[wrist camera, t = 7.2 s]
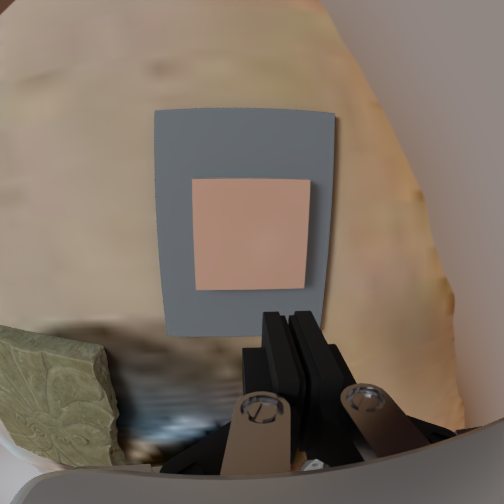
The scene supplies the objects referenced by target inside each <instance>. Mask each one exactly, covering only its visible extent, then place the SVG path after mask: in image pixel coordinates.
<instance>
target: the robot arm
mask: <svg viewBox="0 0 504 504" xmlns="http://www.w3.org/2000/svg"><path fill="white" fill-rule="evenodd" d="M242 378H243V396H242V397H241V398H240V399H239V400H238V401H237V402H236V404H235V406H234V411H233V416H232V421H230V422H229V423H227V424H226V425H224V426H223V427H221V428H220V429H218V430H217V431H215V432H214V433H212V434H211V435H209V436H208V437H206V438H204V439H203V440H201V441H200V442H198V443H196V444H195V445H193V446H192V447H190V448H188V449H187V450H185V451H184V452H182V453H180V454H179V455H177V456H175V457H173V458H172V459H170V460H169V461H168V462H166V463H165V464H164V465H163V466H162V467H153V468H152V467H151V464H143V465H121V466H79V467H76V468H73V469H71V470H62V471H55V472H50V473H46V474H42V475H39V476H37V477H35V478H33V479H31V480H30V481H29V482H27V483H26V484H25V485H24V486H23V487H22V488H21V489H20V490H19V492H18V493H17V494H16V495H15V497H14V499H13V500H12V502H11V503H10V504H504V418H502V419H499V420H497V421H494V422H492V423H490V424H487V425H484V426H481V427H474V428H467V429H460V430H456V431H455V433H454V432H452V431H451V430H448V429H446V428H443V427H440V426H437V425H434V424H431V423H428V422H425V421H422V420H419V419H416V418H413V417H410V416H408V415H406V414H405V413H404V412H403V411H402V410H401V408H400V407H399V406H398V405H397V404H396V403H395V402H394V400H393V399H392V398H391V397H390V396H389V395H388V393H387V392H385V391H384V390H383V389H382V388H380V387H378V386H375V385H372V384H364V383H360V384H357V383H356V381H355V379H354V378H353V376H352V374H351V372H350V370H349V368H348V366H347V364H346V362H345V361H344V359H343V357H342V355H341V353H340V351H339V349H338V347H337V346H336V345H335V344H327V342H326V340H325V338H324V336H323V334H322V332H321V330H320V328H319V326H318V324H317V322H316V320H315V318H314V316H313V314H312V312H311V311H295V312H294V315H289V318H288V323H287V320H286V317H285V315H280V313H279V311H276V312H263V317H262V346H261V348H243V349H242ZM297 443H298V446H299V450H300V452H306V456H307V461H306V462H305V463H304V465H303V466H302V467H301V470H300V471H298V472H290V464H291V463H292V462H293V461H294V458H295V453H296V448H297Z"/></svg>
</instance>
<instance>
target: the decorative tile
mask: <svg viewBox="0 0 504 504" xmlns="http://www.w3.org/2000/svg"><path fill="white" fill-rule="evenodd" d="M116 404H117V400H116V396H115V392H114V389H113V386H112V384H111V379H110V373H109V370H108V360H107V355H106V352H105V349H104V346H102V345H98V344H92V343H87V342H81V341H76V340H70V339H65V338H60V337H55V336H50V335H45V334H40V333H35V332H30V331H25V330H20V329H16V328H11V327H7V326H3V325H0V419H1V420H2V422H3V424H4V426H5V427H6V429H7V431H8V432H9V435H10V436H11V438H12V439H13V440H14V442H15V444H16V445H17V446H20V447H22V448H24V449H26V450H29V451H31V452H33V453H35V454H37V455H39V456H42V457H46V458H49V459H51V460H54V461H58V462H62V463H64V464H67V465H71V466H76V467H79V466H121V465H126V459H125V454H124V452H123V451H122V449H121V448H120V446H119V445H118V442H117V432H118V429H117V427H116V420H117V418H118V416H119V411H118V409H117V406H116Z"/></svg>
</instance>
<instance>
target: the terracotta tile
mask: <svg viewBox="0 0 504 504" xmlns="http://www.w3.org/2000/svg"><path fill="white" fill-rule="evenodd" d="M309 203H310V180H309V179H307V178H287V177H194V178H193V179H192V207H193V239H194V262H195V282H196V290H255V289H296V288H304V283H305V270H306V256H307V240H308V223H309Z"/></svg>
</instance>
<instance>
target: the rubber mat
mask: <svg viewBox="0 0 504 504" xmlns="http://www.w3.org/2000/svg"><path fill="white" fill-rule="evenodd" d="M334 132H335V113H327V112H316V111H304V110H288V109H266V108H195V109H173V110H158V111H155V120H154V155H155V194H156V216H157V233H158V248H159V261H160V273H161V283H162V293H163V303H164V312H165V320H166V328H167V336H179V337H230V336H262V317H263V312H276V311H279V313H280V315H285V317H286V320H287V323H288V318H289V315H294V312H295V311H311V312H312V314H313V316H314V318H315V320H316V322H317V324H318V326H319V328H320V324H321V316H322V308H323V299H324V290H325V280H326V270H327V259H328V247H329V235H330V221H331V206H332V188H333V166H334ZM194 177H287V178H307V179H309V180H310V203H309V223H308V240H307V256H306V270H305V283H304V288H296V289H255V290H196V282H195V262H194V239H193V207H192V179H193V178H194Z"/></svg>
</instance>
